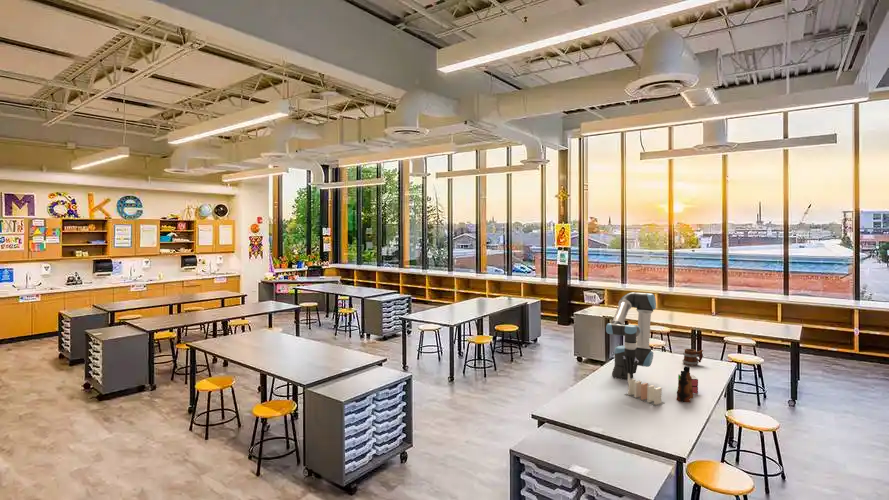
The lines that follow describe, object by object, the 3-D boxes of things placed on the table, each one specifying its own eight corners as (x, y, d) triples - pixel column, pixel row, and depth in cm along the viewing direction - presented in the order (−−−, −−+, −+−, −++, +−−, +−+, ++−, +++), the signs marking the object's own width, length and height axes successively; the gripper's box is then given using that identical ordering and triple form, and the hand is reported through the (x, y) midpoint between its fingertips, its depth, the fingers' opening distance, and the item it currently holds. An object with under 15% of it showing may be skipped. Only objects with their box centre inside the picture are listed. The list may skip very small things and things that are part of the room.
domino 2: (634, 396, 314) (634, 382, 314) (639, 395, 317) (639, 380, 316) (636, 397, 313) (636, 382, 313) (641, 396, 316) (641, 381, 315)
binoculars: (680, 393, 321) (681, 364, 320) (694, 395, 317) (694, 366, 316) (675, 401, 307) (675, 371, 306) (689, 404, 302) (689, 373, 301)
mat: (623, 395, 319) (623, 394, 319) (633, 392, 324) (633, 391, 324) (655, 406, 298) (655, 406, 298) (665, 403, 303) (665, 403, 303)
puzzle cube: (698, 393, 321) (698, 379, 320) (682, 392, 323) (682, 378, 322) (693, 388, 331) (693, 374, 330) (677, 387, 333) (678, 374, 332)
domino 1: (627, 394, 319) (628, 380, 318) (632, 393, 321) (633, 378, 320) (629, 395, 317) (630, 380, 316) (634, 393, 320) (635, 379, 319)
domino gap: (640, 399, 310) (640, 384, 310) (645, 397, 313) (645, 382, 312) (642, 399, 309) (642, 384, 308) (647, 398, 311) (647, 383, 311)
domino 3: (647, 401, 306) (647, 386, 305) (652, 400, 308) (652, 385, 308) (649, 402, 304) (649, 387, 304) (654, 400, 307) (654, 385, 306)
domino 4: (654, 403, 302) (654, 388, 301) (659, 402, 304) (659, 387, 304) (656, 404, 300) (656, 389, 300) (661, 403, 303) (661, 387, 302)
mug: (681, 360, 398) (685, 343, 396) (700, 365, 392) (704, 348, 390) (680, 364, 388) (684, 347, 386) (700, 369, 381) (704, 352, 379)
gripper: (618, 346, 323) (618, 380, 324) (634, 351, 311) (634, 386, 312) (626, 345, 326) (625, 379, 327) (642, 349, 315) (641, 384, 316)
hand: (629, 382), depth 320 cm, fingers closed
